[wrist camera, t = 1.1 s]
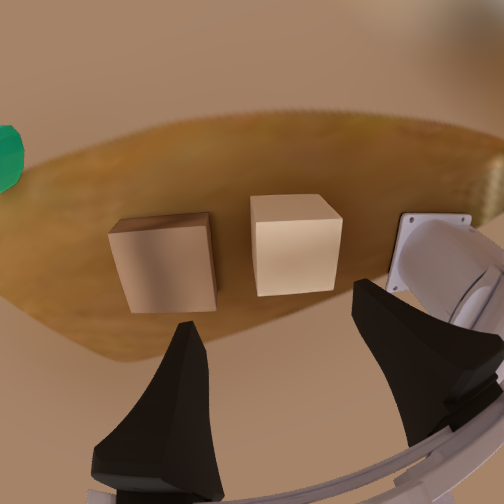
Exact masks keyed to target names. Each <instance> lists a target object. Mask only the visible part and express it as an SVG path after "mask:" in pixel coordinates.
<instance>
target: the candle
mask: <svg viewBox="0 0 504 504" xmlns="http://www.w3.org/2000/svg"><path fill="white" fill-rule="evenodd" d="M23 168H24V147H23V144H22V140H21V137H20V134H19V133H18V132H17V131H16V130H15V129H14V128H13V127H12V126H0V193H2V192H4V191H6V190H8V189H9V188H11V187H12V186H13V185H15V184H16V183H17V182H18V180H19V178H20V175H21V173H22V170H23Z"/></svg>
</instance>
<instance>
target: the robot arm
mask: <svg viewBox="0 0 504 504" xmlns="http://www.w3.org/2000/svg"><path fill="white" fill-rule="evenodd" d="M411 217H412V219H411V220H410V218H411ZM471 219H472V218H471V215H469V214H453V213H404V214H403V215H402V216H401V220H400V225H399V231H398V236H397V241H396V245H395V250H394V255H393V259H392V263H391V268H390V272H389V276H388V279H387V283H386V287H385V289H386V290H384V289H382V288H381V287H379V286H378V285H376V284H374V283H373V282H371V281H369V280H368V279H366V278H365V279H362V280H358V281H355V282H354V288H353V303H352V317H353V319H354V322H355V324H356V326H357V328H358V330H359V333H360V334H361V336H362V337H363V339H364V341H365V343H366V344H367V346H368V347H369V349H370V351H371V352H372V354H373V356H374V357H375V359H376V361H377V362H378V364H379V366H380V367H381V369H382V371H383V373H384V375H385V377H386V379H387V381H388V384H389V386H390V388H391V391H392V393H393V396H394V399H395V401H396V404H397V407H398V410H399V413H400V416H401V419H402V422H403V425H404V429H405V433H406V437H407V441H408V446H409V448H408V449H407V450H405V451H403V452H401V453H399V454H396V455H394V456H392V457H390V458H388V459H386V460H384V461H382V462H379V463H377V464H374V465H372V466H370V467H367V468H365V469H362V470H359V471H357V472H354V473H351V474H349V475H346V476H343V477H340V478H337V479H334V480H331V481H328V482H325V483H321V484H318V485H314V486H310V487H306V488H303V489H299V490H294V491H289V492H285V493H280V494H275V495H270V496H264V497H257V498H250V499H242V500H233V501H221V500H222V499H223V498H224V496H225V495H224V492H223V488H222V484H221V480H220V476H219V472H218V467H217V463H216V458H215V453H214V447H213V441H212V435H211V428H210V420H209V370H208V361H207V354H206V349H205V347H204V345H203V343H202V341H201V338H200V336H199V334H198V332H197V329H196V327H195V325H194V323H193V321H188V322H183V323H179V325H178V326H177V329H176V331H175V333H174V336H173V338H172V340H171V343H170V345H169V347H168V349H167V351H166V353H165V356H164V358H163V360H162V362H161V364H160V366H159V368H158V369H157V371H156V373H155V375H154V377H153V379H152V381H151V382H150V384H149V385H148V387H147V389H146V390H145V392H144V393H143V395H142V396H141V398H140V399H139V400H138V402H137V403H136V405H135V406H134V407H133V409H132V410H131V411H130V412H129V414H128V415H127V416H126V417H125V418H124V419H123V421H122V422H121V423H120V424H119V425H118V426H117V427H116V428H115V429H114V430H113V431H112V432H111V433H110V434H109V435H108V436H107V437H106V438H105V439H103V440H102V441H101V442H100V443H99V444H98V445H97V446H95V448H94V452H93V458H92V459H93V460H92V469H91V476H92V477H93V478H94V479H95V480H97V481H99V482H101V483H103V484H105V485H107V486H110V487H112V488H114V489H116V490H117V495H114V494H110V493H105V492H100V491H94V490H89V489H88V490H87V503H86V504H308V503H312V502H316V501H319V500H323V499H327V498H330V497H333V496H336V495H339V494H342V493H345V492H348V491H351V490H354V489H356V488H359V487H362V486H364V485H367V484H369V483H372V482H374V481H376V480H379V479H381V478H383V477H386V476H388V475H390V474H392V473H394V472H396V471H398V470H400V469H402V468H404V467H406V466H408V465H410V464H412V463H414V462H416V461H418V460H419V459H421V458H423V457H425V456H426V455H427V456H426V459H424V460H423V461H421V462H419V463H418V464H416V465H414V466H413V467H411V468H409V469H407V471H406V472H404V473H403V474H402V475H400V476H399V477H397V478H395V479H394V480H393V481H394V484H395V486H396V487H395V488H393V489H391V490H389V491H386V492H384V493H382V494H380V495H377V496H375V497H373V498H370V499H368V500H365V501H363V502H360V503H357V504H456V503H455V500H454V498H453V495H452V493H451V491H450V490H451V489H452V488H454V487H455V486H456V485H458V484H459V483H460V482H462V481H463V480H464V479H465V478H467V477H468V476H469V475H470V474H472V473H473V472H474V471H475V470H476V469H477V468H479V467H480V466H481V465H482V464H483V463H484V462H485V461H486V460H488V459H489V458H490V457H491V456H492V455H493V454H494V453H495V452H496V451H497V450H498V449H499V448H500V447H501V446H502V445H503V444H504V250H503V249H502V248H501V247H499V246H498V245H497V244H495V243H494V242H493V241H491V240H490V239H489V238H487V237H486V236H484V235H483V234H482V233H480V232H479V231H478V230H476V229H475V228H473V227H472V226H470V223H471ZM409 220H410V221H409ZM394 287H395V288H394ZM406 290H411V292H412V293H413V294H414V295H415V297H416V298H417V299H418V300H419V302H420V303H421V304H422V305H423V307H424V308H425V309H426V311H427V312H428V313H429V315H428V314H426V313H424V312H422V311H420V310H418V309H416V308H414V307H413V306H410V305H409V304H407V303H405V302H404V301H402V300H400V299H399V298H397V297H395V296H394V295H392V294H390V293H393V292H399V291H406ZM220 501H221V502H220Z"/></svg>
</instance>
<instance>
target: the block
mask: <svg viewBox="0 0 504 504" xmlns="http://www.w3.org/2000/svg"><path fill="white" fill-rule="evenodd" d="M250 210H251V238H252V260H253V267H254V274H255V281H256V288H257V295H258V296H271V295H284V294H296V293H307V292H318V291H328V290H333V289H334V282H335V276H336V269H337V262H338V255H339V247H340V239H341V231H342V221H343V219H342V218H341V216H340V215H339V214H338V213H337V212H336V211H335V210H334V209H333V208H332V207H331V206H330V205H329V204H328V203H327V202H326V201H325V200H324V199H323V198H322V197H321V196H320V195H319V194H289V195H262V196H250Z"/></svg>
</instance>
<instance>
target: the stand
mask: <svg viewBox="0 0 504 504" xmlns="http://www.w3.org/2000/svg"><path fill="white" fill-rule="evenodd" d="M108 238H109V242H110V246H111V249H112V253H113V256H114V260H115V263H116V267H117V270H118V273H119V277H120V280H121V283H122V286H123V289H124V292H125V295H126V298H127V301H128V304H129V307H130V309H131V312H132V313H173V312H203V311H217V292H218V291H217V283H216V275H215V267H214V258H213V249H212V240H211V230H210V221H209V212H204V213H191V214H179V215H167V216H156V217H146V218H136V219H126V220H119V222H118V223H117V224H116V225H115V226H114V227H113V228H112V229H111V230H110V232H109V233H108Z"/></svg>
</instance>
